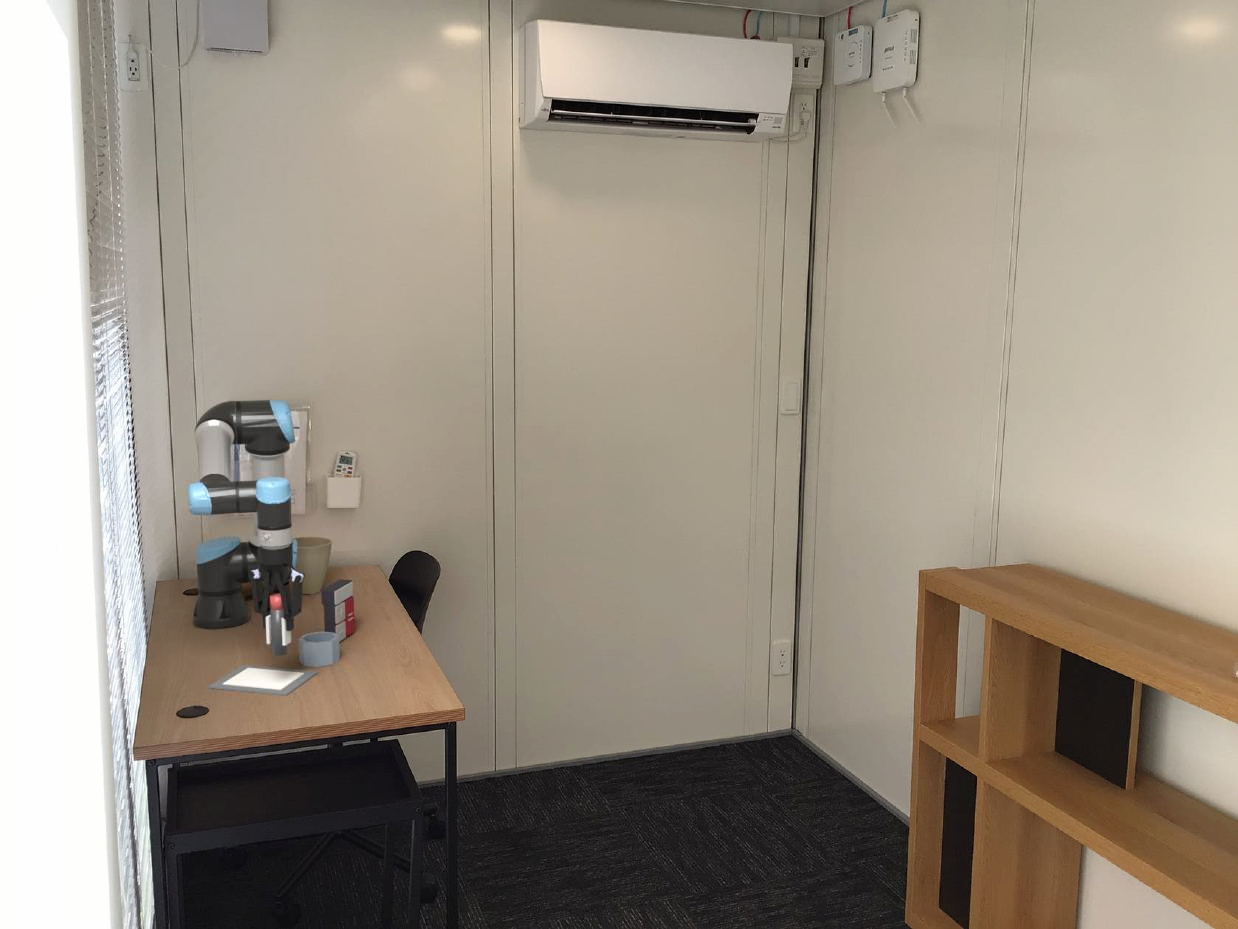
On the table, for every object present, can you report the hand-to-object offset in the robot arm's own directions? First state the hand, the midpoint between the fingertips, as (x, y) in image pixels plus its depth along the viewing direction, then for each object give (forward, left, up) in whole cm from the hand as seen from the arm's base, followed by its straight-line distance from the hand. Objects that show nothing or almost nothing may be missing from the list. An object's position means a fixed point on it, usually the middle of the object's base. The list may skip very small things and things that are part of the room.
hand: (279, 642), depth 241 cm
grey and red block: (-3, +36, -11) cm, 38 cm away
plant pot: (-33, +75, -11) cm, 82 cm away
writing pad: (-6, +3, -11) cm, 13 cm away
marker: (0, 0, -3) cm, 3 cm away
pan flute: (-56, +68, -12) cm, 89 cm away
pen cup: (0, +19, -11) cm, 22 cm away
